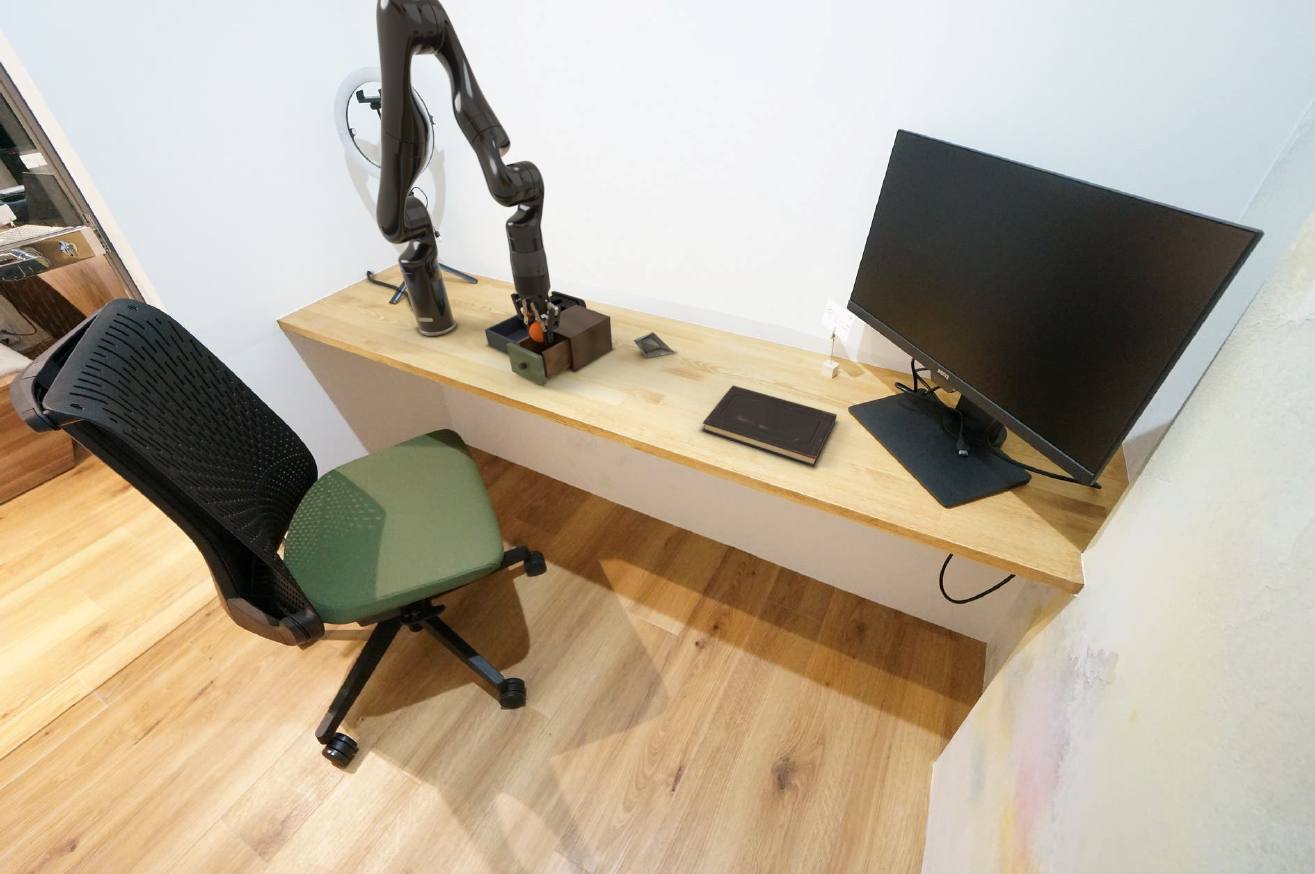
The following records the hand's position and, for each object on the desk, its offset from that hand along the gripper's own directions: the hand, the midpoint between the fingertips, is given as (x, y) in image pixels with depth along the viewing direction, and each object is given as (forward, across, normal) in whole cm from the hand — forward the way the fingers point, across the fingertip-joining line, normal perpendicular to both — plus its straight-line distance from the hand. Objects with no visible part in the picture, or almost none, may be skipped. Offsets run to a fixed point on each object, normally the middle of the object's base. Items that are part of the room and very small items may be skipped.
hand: (541, 340), depth 122 cm
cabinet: (+8, 0, +10) cm, 13 cm away
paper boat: (+8, +16, +20) cm, 27 cm away
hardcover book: (+8, +53, +12) cm, 55 cm away
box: (+8, -14, +6) cm, 17 cm away
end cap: (+8, -16, +22) cm, 29 cm away
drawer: (+7, 0, 0) cm, 7 cm away
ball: (-2, 0, 0) cm, 2 cm away
